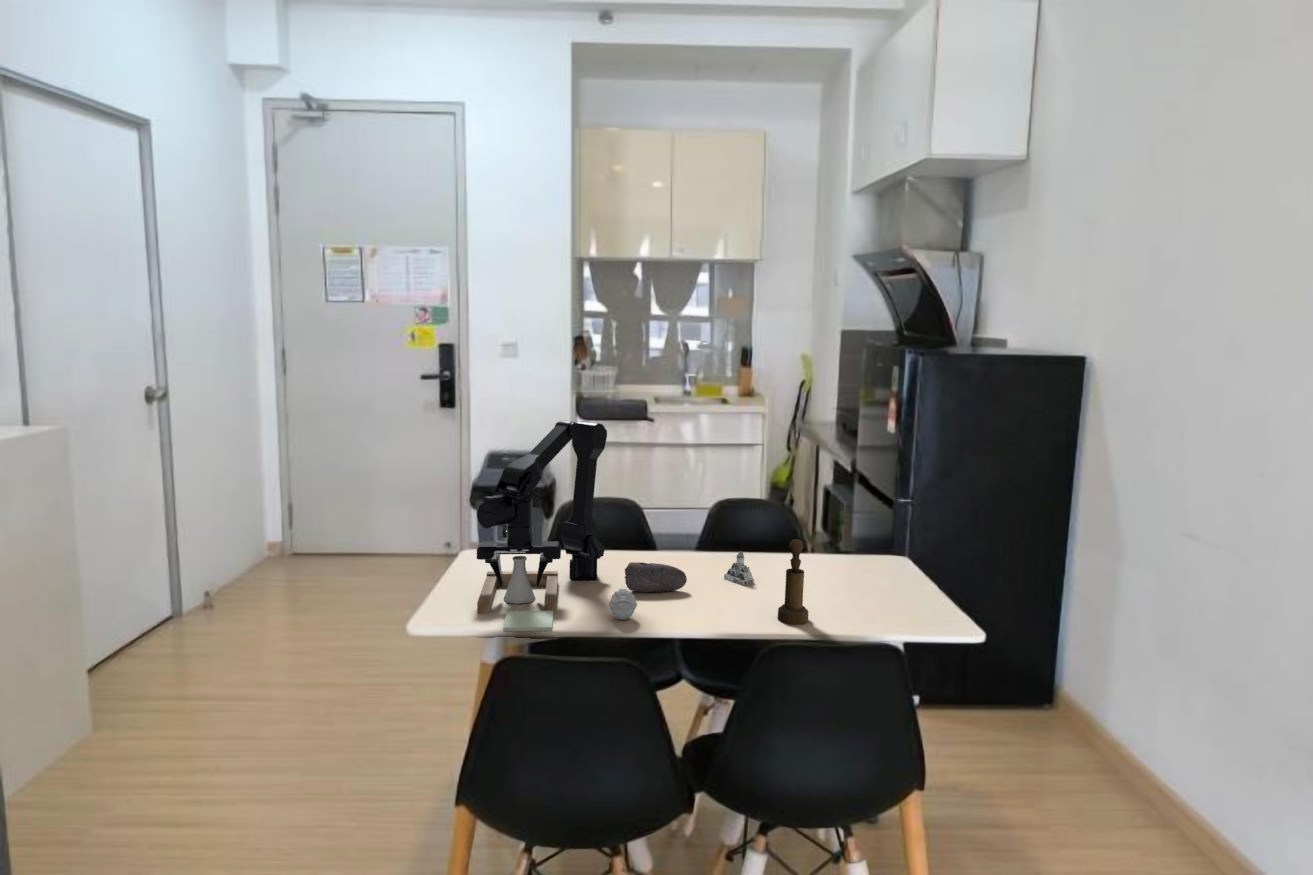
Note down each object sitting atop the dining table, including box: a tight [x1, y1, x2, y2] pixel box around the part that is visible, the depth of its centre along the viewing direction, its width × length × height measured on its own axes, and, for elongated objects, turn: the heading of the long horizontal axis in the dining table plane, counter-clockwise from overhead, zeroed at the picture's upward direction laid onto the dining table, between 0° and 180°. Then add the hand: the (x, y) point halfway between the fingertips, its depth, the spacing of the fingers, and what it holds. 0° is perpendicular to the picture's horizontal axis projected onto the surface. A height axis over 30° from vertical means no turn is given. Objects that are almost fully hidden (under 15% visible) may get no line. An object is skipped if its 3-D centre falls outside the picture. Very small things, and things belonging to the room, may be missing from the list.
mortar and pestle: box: [777, 539, 809, 626], centre depth 183 cm, size 7×6×18 cm
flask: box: [503, 555, 536, 605], centre depth 193 cm, size 7×7×10 cm
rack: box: [476, 570, 559, 614], centre depth 195 cm, size 17×21×3 cm
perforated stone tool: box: [624, 561, 688, 593], centre depth 202 cm, size 15×5×7 cm, turn 92°
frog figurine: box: [608, 588, 638, 621], centre depth 182 cm, size 6×7×7 cm
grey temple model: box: [723, 550, 755, 586], centre depth 213 cm, size 9×9×8 cm
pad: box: [502, 610, 554, 632], centre depth 179 cm, size 10×10×1 cm
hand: (519, 586), depth 194 cm, fingers open, 8 cm apart
